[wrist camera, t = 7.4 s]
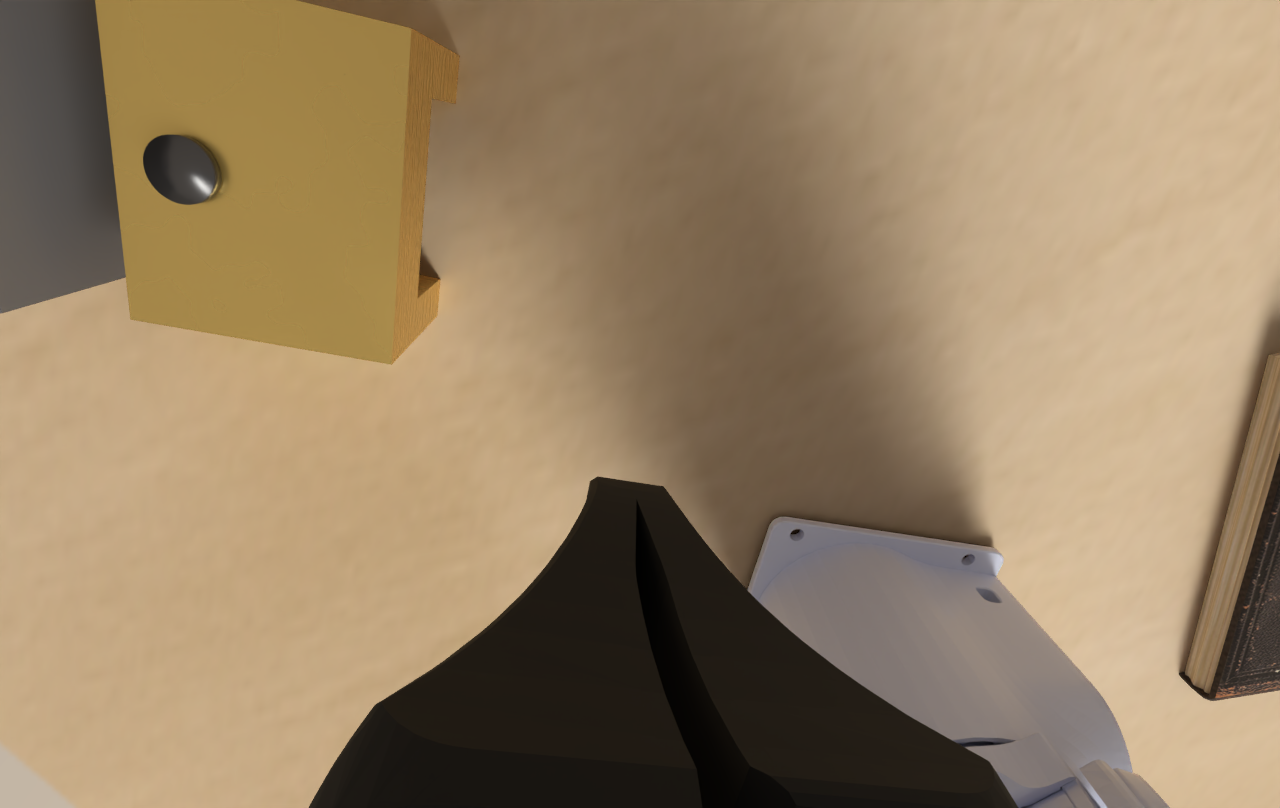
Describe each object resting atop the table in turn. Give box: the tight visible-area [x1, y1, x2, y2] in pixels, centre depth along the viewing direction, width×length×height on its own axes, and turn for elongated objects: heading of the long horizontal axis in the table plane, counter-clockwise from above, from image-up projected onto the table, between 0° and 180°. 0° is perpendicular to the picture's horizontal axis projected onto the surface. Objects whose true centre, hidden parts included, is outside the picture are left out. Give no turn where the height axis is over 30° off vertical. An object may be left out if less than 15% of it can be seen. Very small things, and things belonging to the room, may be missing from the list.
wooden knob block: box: [95, 0, 460, 365], centre depth 16 cm, size 6×7×5 cm
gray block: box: [0, 0, 126, 313], centre depth 14 cm, size 8×7×7 cm
